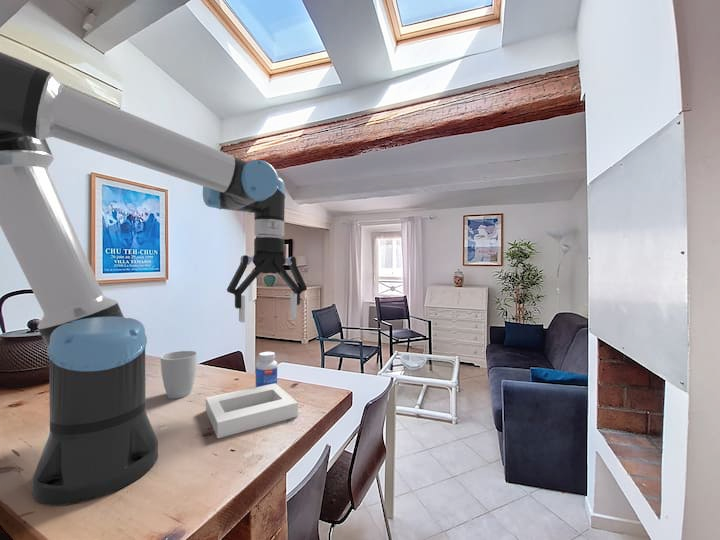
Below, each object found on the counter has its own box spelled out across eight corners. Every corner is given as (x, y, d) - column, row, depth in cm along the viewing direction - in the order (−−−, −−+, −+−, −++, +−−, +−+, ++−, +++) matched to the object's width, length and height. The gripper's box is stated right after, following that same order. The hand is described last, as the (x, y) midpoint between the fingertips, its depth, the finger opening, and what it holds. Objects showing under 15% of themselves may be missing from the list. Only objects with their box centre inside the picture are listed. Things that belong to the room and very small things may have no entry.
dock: (217, 438, 60) (217, 422, 60) (201, 401, 76) (201, 389, 76) (297, 416, 69) (297, 402, 69) (267, 387, 85) (267, 376, 85)
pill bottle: (264, 396, 79) (264, 357, 79) (251, 391, 83) (251, 354, 82) (281, 390, 84) (281, 352, 84) (268, 385, 87) (268, 349, 87)
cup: (203, 388, 84) (203, 351, 84) (184, 401, 76) (184, 359, 76) (175, 387, 85) (175, 350, 85) (152, 400, 77) (152, 359, 77)
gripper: (220, 232, 73) (220, 325, 73) (319, 239, 87) (318, 317, 87) (214, 235, 79) (214, 321, 79) (307, 241, 93) (306, 314, 93)
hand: (268, 319), depth 83 cm, fingers open, 13 cm apart
